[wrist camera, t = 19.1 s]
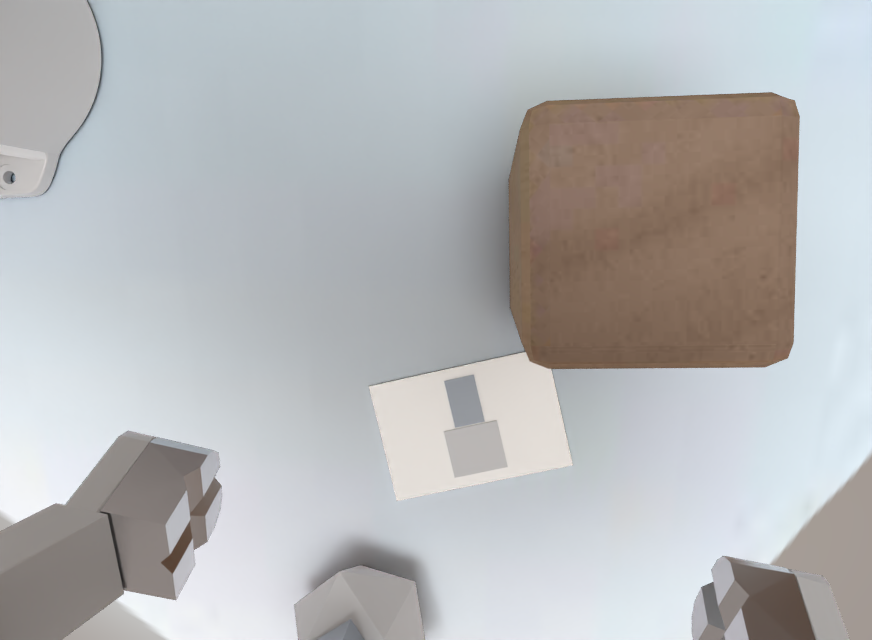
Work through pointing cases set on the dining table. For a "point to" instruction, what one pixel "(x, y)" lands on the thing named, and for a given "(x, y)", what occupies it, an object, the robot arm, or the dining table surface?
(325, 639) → the brick
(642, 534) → the dining table surface
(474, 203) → the dining table surface
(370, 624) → the die
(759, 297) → the block
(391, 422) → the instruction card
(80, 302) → the dining table surface
